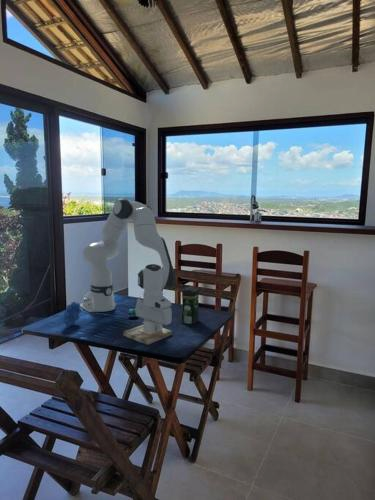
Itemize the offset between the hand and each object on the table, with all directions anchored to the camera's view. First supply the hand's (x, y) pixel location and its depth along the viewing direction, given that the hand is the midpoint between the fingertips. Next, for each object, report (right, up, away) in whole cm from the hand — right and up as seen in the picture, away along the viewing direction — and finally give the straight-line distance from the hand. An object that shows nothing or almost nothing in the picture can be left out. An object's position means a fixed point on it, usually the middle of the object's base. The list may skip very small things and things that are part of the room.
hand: (152, 329), depth 165 cm
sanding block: (0, -2, 0) cm, 2 cm away
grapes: (-42, -1, +14) cm, 44 cm away
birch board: (-3, -3, +3) cm, 5 cm away
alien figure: (-5, +1, +43) cm, 43 cm away
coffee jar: (+17, -1, +22) cm, 28 cm away
